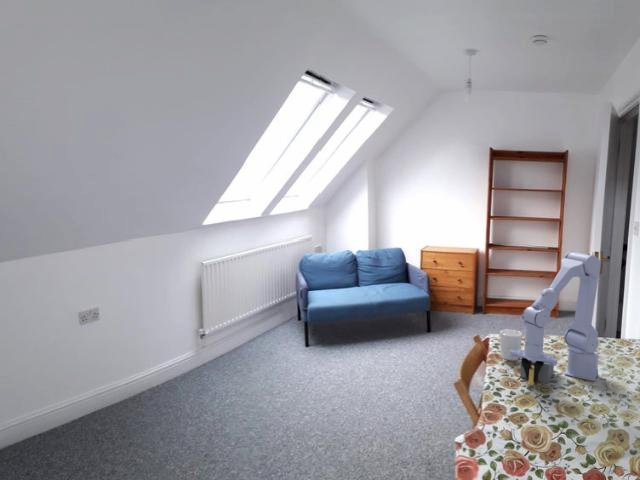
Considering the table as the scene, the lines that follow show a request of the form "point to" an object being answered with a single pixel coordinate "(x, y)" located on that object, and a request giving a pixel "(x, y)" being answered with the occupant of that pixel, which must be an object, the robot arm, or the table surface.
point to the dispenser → (541, 370)
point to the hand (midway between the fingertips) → (531, 380)
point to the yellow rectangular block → (531, 375)
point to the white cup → (509, 343)
